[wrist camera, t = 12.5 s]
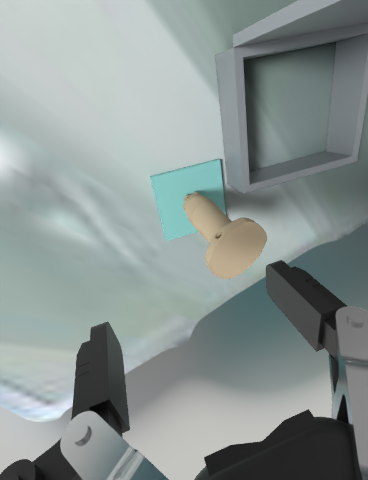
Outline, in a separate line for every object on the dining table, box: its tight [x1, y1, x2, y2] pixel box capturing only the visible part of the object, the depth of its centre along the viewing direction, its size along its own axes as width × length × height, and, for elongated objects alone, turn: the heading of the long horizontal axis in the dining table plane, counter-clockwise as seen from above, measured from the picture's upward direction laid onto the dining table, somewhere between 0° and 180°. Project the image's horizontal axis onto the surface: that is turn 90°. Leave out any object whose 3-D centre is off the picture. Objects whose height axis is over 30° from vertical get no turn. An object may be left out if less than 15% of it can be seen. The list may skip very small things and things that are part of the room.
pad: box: [150, 159, 226, 241], centre depth 38 cm, size 10×10×1 cm
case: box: [215, 0, 368, 194], centre depth 28 cm, size 17×19×19 cm
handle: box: [183, 192, 267, 279], centre depth 31 cm, size 5×6×15 cm
